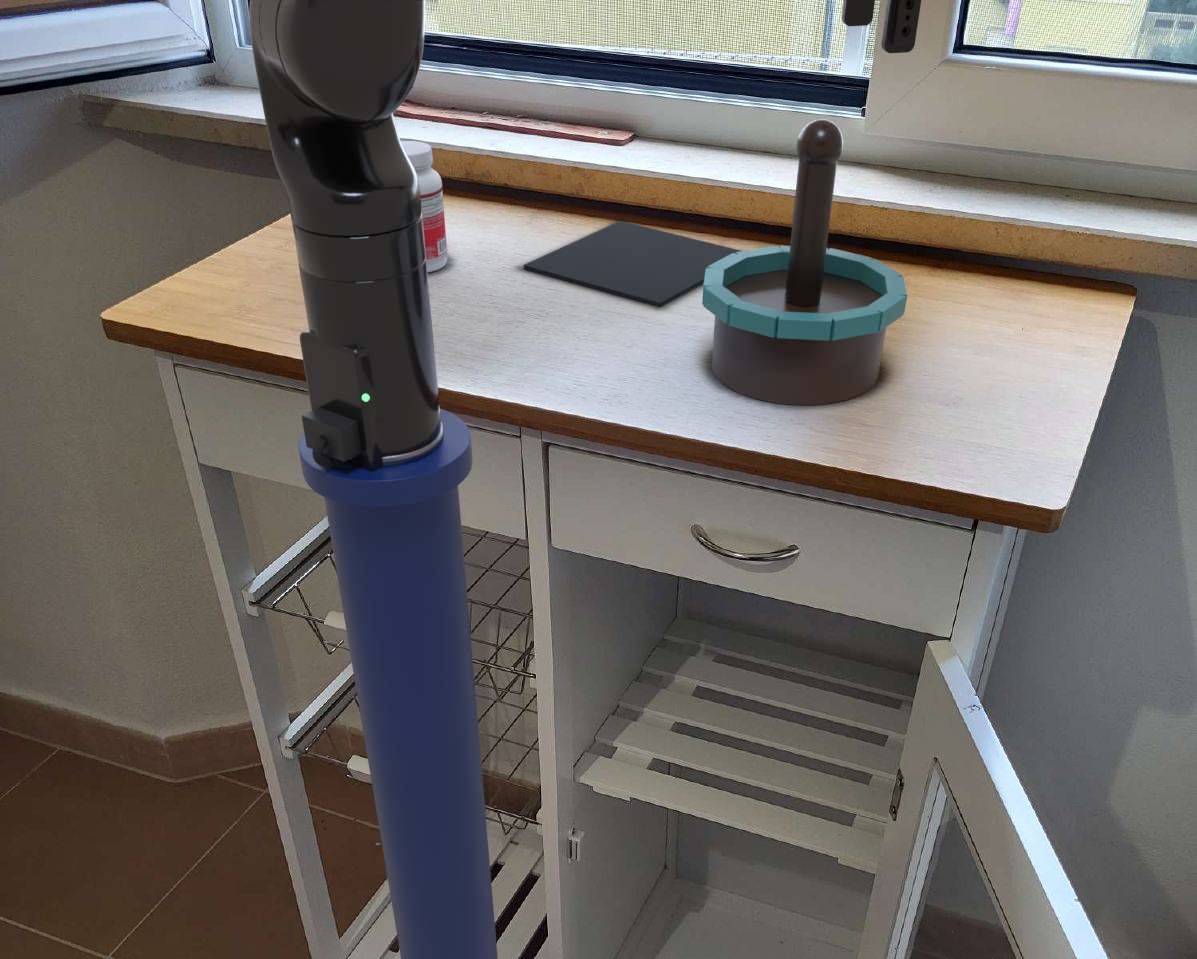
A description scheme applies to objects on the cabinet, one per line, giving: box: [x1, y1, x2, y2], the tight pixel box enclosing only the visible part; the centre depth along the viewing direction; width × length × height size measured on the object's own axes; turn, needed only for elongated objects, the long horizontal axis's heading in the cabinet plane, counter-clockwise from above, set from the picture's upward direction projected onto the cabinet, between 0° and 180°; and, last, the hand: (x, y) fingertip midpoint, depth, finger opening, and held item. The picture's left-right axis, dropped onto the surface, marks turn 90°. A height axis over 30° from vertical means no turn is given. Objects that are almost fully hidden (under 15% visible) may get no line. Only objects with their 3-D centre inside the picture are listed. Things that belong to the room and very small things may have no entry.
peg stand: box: [711, 118, 887, 406], centre depth 102 cm, size 15×15×20 cm
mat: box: [522, 220, 741, 308], centre depth 127 cm, size 17×17×1 cm
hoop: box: [701, 245, 908, 341], centre depth 104 cm, size 17×17×2 cm
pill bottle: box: [401, 140, 448, 273], centre depth 123 cm, size 6×6×11 cm
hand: (876, 38), depth 89 cm, fingers open, 8 cm apart
